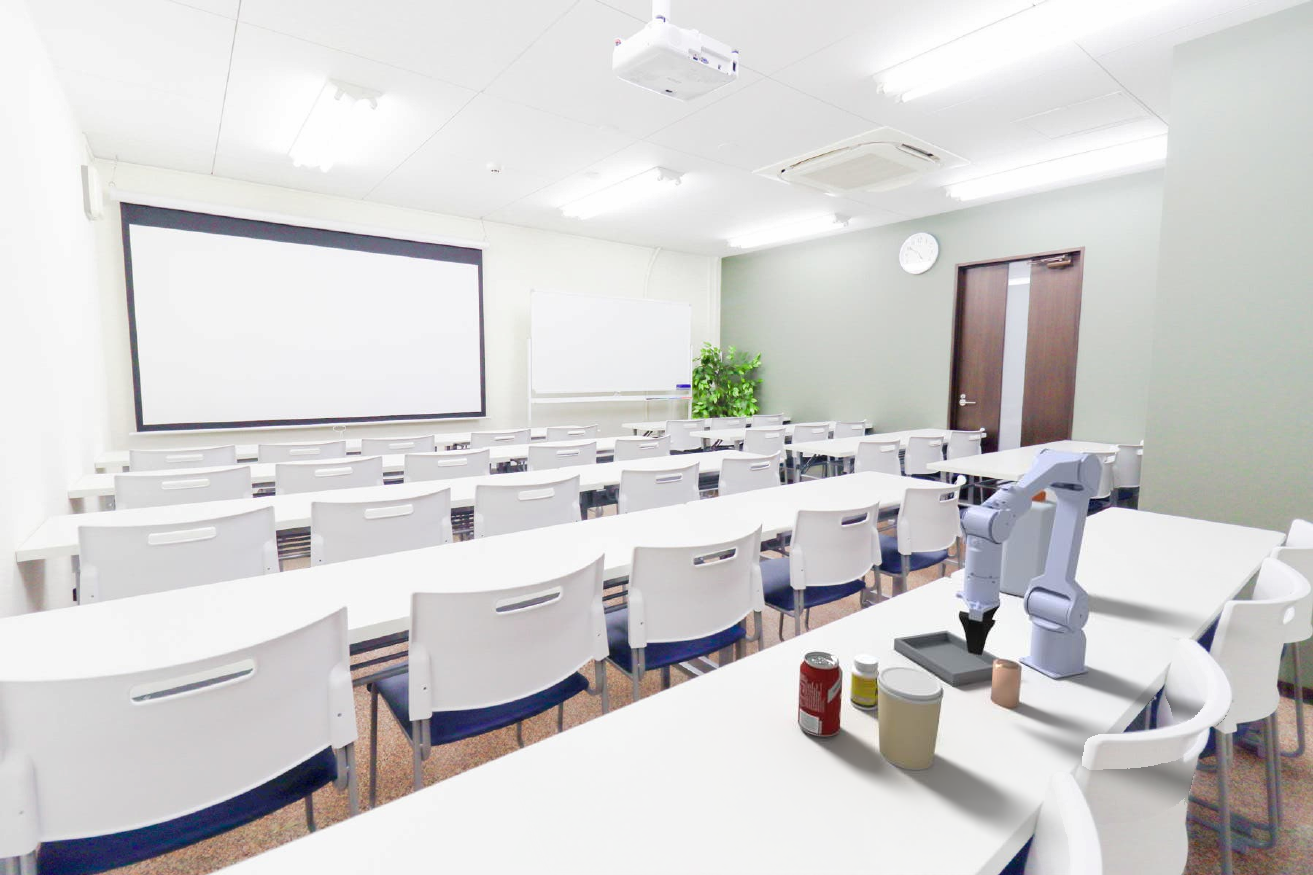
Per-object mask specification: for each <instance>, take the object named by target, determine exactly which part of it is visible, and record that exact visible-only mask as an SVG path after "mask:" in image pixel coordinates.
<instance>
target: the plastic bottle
mask: <svg viewBox="0 0 1313 875" xmlns="http://www.w3.org/2000/svg"><path fill="white" fill-rule="evenodd" d="M1046 498H1047V492H1046V491H1045V490H1043V491H1042V492H1040V493H1039V494H1037V495H1036V496H1034V497H1033V498H1031V499H1032V506H1031V508H1030V509H1029V510H1028V511H1027V512H1026V513H1024V514H1023V515H1022V516H1021V517H1020V518H1019V519H1018V520H1016V521H1015V526H1014V527H1013V529H1012V531H1011V534H1010V536H1009V538H1008V539H1007V540H1006V541H1004V542H1003V550H1002V564H1001V578H1000V592H1001V593H1004V594H1010V595H1013V596H1017V597H1023V598H1024V596H1025V594H1026V592H1027V590H1028V588H1029V585H1030V581H1031V580H1032V579H1034V578H1036V577H1039V576H1041V575H1044V574H1045V568H1046V563H1047V558H1048V552H1049V547H1050V541H1051V536H1052V530H1053V525H1054V520H1055V514H1056V509H1057V503H1058V501H1056V500H1052V499H1046ZM1047 590H1050V589H1047ZM1050 591H1053V590H1050ZM1053 592H1056V591H1053ZM1057 593H1059V592H1057Z"/></svg>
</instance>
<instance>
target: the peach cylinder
mask: <svg viewBox="0 0 1313 875" xmlns="http://www.w3.org/2000/svg"><path fill="white" fill-rule="evenodd" d="M1022 670H1023V668H1022V665H1021V664H1019V663H1018V662H1016V661H1013V660H1011V659H1006V658H1000V659H995V660H994V661H993V674H992V679H991V690H990V700H991V702H993V703H994V704H995V705H998V706H1000V707H1002V708H1006V709H1017V708H1018V707H1019V705H1020V693H1021V682H1022Z"/></svg>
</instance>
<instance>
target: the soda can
mask: <svg viewBox="0 0 1313 875" xmlns="http://www.w3.org/2000/svg"><path fill="white" fill-rule="evenodd" d="M803 657H804V658H803V661H802V662H801V663H800V665H799V682H798V684H799V685H798V686H799V687H798V703H797V704H798V705H797V706H798V710H797V711H798V712H797V724H798V725H799V727H800V729H801V730H803V731H804V732H806V733H807V734H809V735H811V736H813V737H819V738H828V737H832V736H835V735H837V734H838V733H839V732H840V730H841V719H842V718H841V715H842V696H843V695H842V694H843V693H842V692H843V691H842V690H843V670H842V668H841V667H840V665H839V664H840V661H839V659H838V658H837V657H836V656H835V655H834V654H831V653H829V652H825V651H810V652H807V653H806V654H805V655H804V656H803Z"/></svg>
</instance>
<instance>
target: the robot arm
mask: <svg viewBox="0 0 1313 875" xmlns="http://www.w3.org/2000/svg"><path fill="white" fill-rule="evenodd" d="M1102 465H1103V464H1102V463H1101V461H1100V459H1099V457H1098V456H1097V455H1096V454H1094V453H1081V452H1073V451H1072V452H1071V451H1064V450H1055V449H1050V448H1041V449H1039V451H1037V453H1036V454H1034V455H1033V457H1032V461H1031V468H1030V469H1029V470H1027V472H1026V473H1025V474H1024V475H1023V476H1022V477H1021V478H1020V479H1019V480H1018V481H1017V482H1016V483H1015V484H1011V483H1010V484H1003V485H1002V486H1001V487H1000V489H999V490H997V491H996V492H995V493H993V494H991V496H990V497H989V498H987V499H986V500H985V501H984V502H983V503H981V504H980V505H977V504H976V505H972V506H970V507H968V508H966V509H965V510H964V511H963V513H962V517H961V520H959V527H960V531H961V533H962V535H963V539H962V542H963V544H964V545H965V558H964V560H965V562H964V573H963V574H964V577H963V588H962V589H963V590H962V591H961V590H956V592H955V597H956V598H959V599H961V600H962V601H963V602H964V604H965V605H966V607H967V608H968V610H969V611H968V612H967V611H962V610H959V612H958V619H959V621H960V623H961V626H962V627H963V628H962V629H963V632H964V635H965V641H966V643H967V649H968V652H969V653H972V654H976V655H982V653H983V650H984V649H985V646H986V641H987V638H988V636H989V634H990V631H991V630H992V629H993V627H994V626H995V624H996V619H993V618H994V616H995V614H996V612H997V610H998V609H999V608H1000V605H1001V598H1000V592H1001V591H1000V578H1001V564H1002V550H1003V542H1004V541H1006V540H1007V539H1008V538H1009V536H1010V534H1011V531H1012V529H1013V527H1014V526H1015V521H1016V520H1018V519H1019V518H1020V517H1021V516H1022V515H1023V514H1024V513H1026V512H1027V511H1028V510H1029V509H1030V508H1031V506H1032V499H1031V498H1033V497H1034V496H1036V495H1037V494H1039V493H1040V492H1042V491H1045V490H1046V489H1049V490H1051V491H1052V492H1054V494H1055V495H1056V498H1057V499H1058V500H1057V502H1058V503H1057V509H1056V514H1055V520H1054V525H1053V530H1052V536H1051V541H1050V547H1049V552H1048V558H1047V563H1046V568H1045V574H1044V575H1041V576H1039V577H1036V578H1034V579H1032V580H1031V581H1030V585H1029V588H1028V590H1027V592H1026V594H1025V596H1024V597H1023V600H1022V605H1023V609H1024V612H1025V613H1026V614H1027V615H1028V620H1029V621H1031V622H1032V624H1031V626H1032V627H1031V638H1030V649H1029V656H1025V657H1023V656H1022V657H1019V658H1018V661H1019V662H1020V663H1022V664H1025V665H1026V666H1028V667H1030V668H1032V669H1034V670H1036V671H1038V672H1041V673H1043V674H1044V675H1046V676H1048V677H1049V678H1052V679H1059V678H1064V677H1069V676H1074V675H1080V674H1084V673H1088V672H1089V669H1088V668H1086V667H1085V661H1086V652H1087V651H1086V650H1087V636H1086V634H1085V632H1084V630H1083V628H1084V627H1085V626H1086V624H1087V622H1088V619H1089V616H1090V609H1089V596H1090V595H1089V593H1088V592H1087V591H1086V590H1085V589H1084V588H1083V587H1082V586H1081V585H1080V584H1079V582H1077V581H1076V575H1077V570H1078V566H1079V565H1078V564H1079V558H1080V553H1081V547H1082V542H1083V536H1084V533H1085V532H1084V530H1085V525H1086V520H1087V515H1088V509H1089V506H1090V504H1089V503H1090V500H1091V498H1095V497H1097V496H1098V493H1099V489H1100V485H1101V481H1102V480H1101V479H1102V474H1103V466H1102ZM1047 589H1050V590H1053V591H1056V592H1053V591H1050V590H1047ZM1057 592H1058V593H1057ZM984 651H985V650H984Z"/></svg>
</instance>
